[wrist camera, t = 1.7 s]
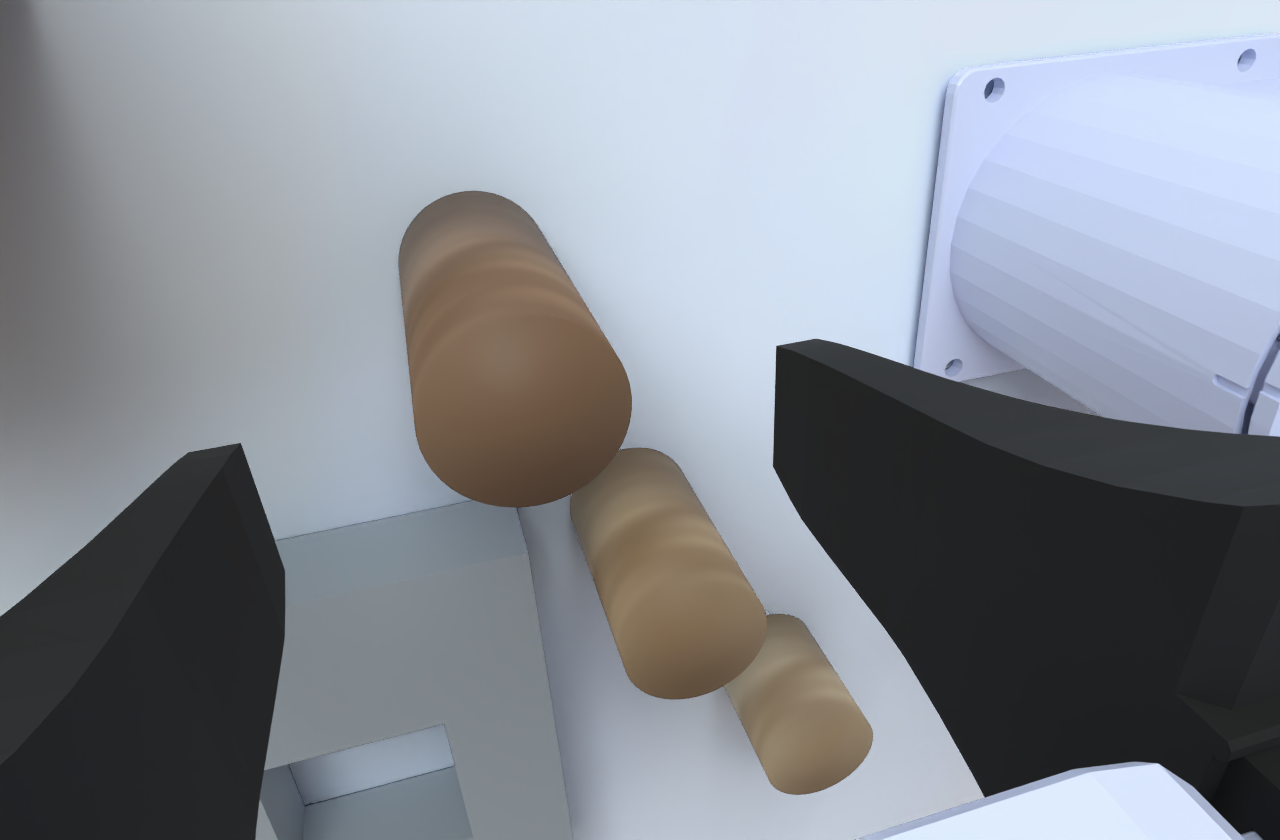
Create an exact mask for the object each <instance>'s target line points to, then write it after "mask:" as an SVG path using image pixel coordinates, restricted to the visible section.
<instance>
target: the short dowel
mask: <svg viewBox="0 0 1280 840" xmlns="http://www.w3.org/2000/svg"><path fill="white" fill-rule="evenodd" d="M766 618H767V632H766V636H765V640H764V643H763V645H762V647H761V649H760V651H759V653H758V655H757V656H756V657H755V659H754V660H753V662H752V663H751V664H750V665H749V666H748V667H747V668H746V669H745V670H744V671H743V672H742V673H741V674H740V675H739V676H737V677H736V678H735V679H733V680H732V681H731V682H729V683H727V684H726V685H724V688H725V690H726V692H727V694H728V696H729V698H730V700H731V702H732V704H733V706H734V708H735V710H736V712H737V715H738V717H739V719H740V721H741V723H742V725H743V727H744V729H745V731H746V733H747V735H748V737H749V739H750V742H751V744H752V746H753V748H754V750H755V752H756V754H757V756H758V758H759V760H760V762H761V764H762V767H763V769H764V771H765V773H766V775H767V777H768V779H769V781H770V783H771V784H772V785H773V787H775V788H776V789H777V790H779V791H781V792H784V793H787V794H794V795H802V794H810V793H814V792H818V791H821V790H824V789H826V788H828V787H831V786H833V785H835V784H837V783H838V782H840V781H841V780H843V779H845V778H846V777H847V776H849V775H850V774H851V773H852V772H853V771H854V770H855V769H856V768H857V767H858V766H859V765H860V764H861V763H862V762H863V760H864V759H865V757H866V756H867V754H868V752H869V750H870V748H871V745H872V741H873V732H872V728H871V726H870V724H869V723H868V721H867V720H866V718H865V717H864V715H863V713H862V712H861V710H860V709H859V707H858V706H857V704H856V703H855V701H854V700H853V698H852V696H851V695H850V693H849V692H848V690H847V689H846V687H845V686H844V684H843V682H842V681H841V679H840V678H839V676H838V675H837V673H836V672H835V670H834V668H833V667H832V665H831V664H830V662H829V661H828V659H827V658H826V656H825V654H824V653H823V651H822V650H821V648H820V647H819V645H818V644H817V642H816V641H815V639H814V637H813V636H812V634H811V633H810V631H809V630H808V628H807V627H806V625H805V624H804V623H803V622H802V621H801V620H799V619H798V618H796V617H794V616H790V615H785V614H772V615H767V616H766Z"/></svg>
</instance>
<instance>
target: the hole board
mask: <svg viewBox="0 0 1280 840" xmlns="http://www.w3.org/2000/svg"><path fill="white" fill-rule="evenodd" d="M275 543H276V546H277V549H278V552H279V555H280V557H281V560H282V563H283V566H284V569H285V640H284V647H283V654H282V661H281V667H280V674H279V680H278V687H277V693H276V700H275V706H274V712H273V718H272V724H271V731H270V737H269V743H268V749H267V755H266V762H265V768H264V774H263V780H262V786H261V793H260V800H259V809H258V818H257V827H256V840H573V834H572V828H571V821H570V815H569V809H568V802H567V796H566V790H565V783H564V777H563V771H562V764H561V758H560V751H559V745H558V739H557V732H556V726H555V720H554V713H553V707H552V701H551V694H550V688H549V682H548V675H547V669H546V663H545V656H544V650H543V644H542V637H541V631H540V624H539V618H538V612H537V605H536V599H535V593H534V586H533V580H532V574H531V567H530V561H529V555H528V550H527V546H526V542H525V539H524V535H523V531H522V527H521V524H520V520H519V516H518V512H517V509H516V507H515V508H511V507H498V506H493V505H487V504H484V503H481V502H477V501H469V502H464V503H459V504H454V505H449V506H444V507H439V508H434V509H430V510H425V511H420V512H415V513H410V514H405V515H400V516H395V517H390V518H385V519H381V520H376V521H371V522H366V523H361V524H356V525H351V526H346V527H341V528H336V529H332V530H327V531H322V532H317V533H312V534H307V535H302V536H297V537H292V538H287V539H283V540H278V541H275ZM442 724H444V725H445V729H446V733H447V737H448V741H449V745H450V749H451V753H452V756H453V760H454V764H455V766H454V767H450V768H446V769H443V770H439V771H435V772H431V773H428V774H424V775H420V776H417V777H413V778H409V779H405V780H402V781H398V782H394V783H390V784H387V785H383V786H379V787H376V788H372V789H368V790H364V791H361V792H357V793H353V794H349V795H346V796H342V797H338V798H335V799H331V800H327V801H323V802H320V803H316V804H312V805H308V806H305V805H304V803H303V800H302V798H301V796H300V793H299V791H298V788H297V786H296V783H295V781H294V778H293V776H292V773H291V771H290V768H289V766H288V764H290V763H294V762H298V761H302V760H306V759H310V758H314V757H318V756H322V755H325V754H329V753H333V752H337V751H341V750H345V749H349V748H353V747H357V746H360V745H364V744H368V743H372V742H376V741H380V740H384V739H388V738H392V737H395V736H399V735H403V734H407V733H411V732H415V731H419V730H423V729H427V728H430V727H434V726H438V725H442Z"/></svg>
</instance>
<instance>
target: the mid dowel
mask: <svg viewBox="0 0 1280 840" xmlns="http://www.w3.org/2000/svg"><path fill="white" fill-rule="evenodd" d="M570 514H571V519H572V522H573V525H574V527H575V530H576V533H577V536H578V539H579V541H580V544H581V547H582V550H583V553H584V555H585V558H586V561H587V564H588V567H589V569H590V572H591V575H592V578H593V581H594V583H595V586H596V589H597V592H598V595H599V597H600V600H601V603H602V606H603V609H604V611H605V614H606V617H607V620H608V623H609V626H610V628H611V631H612V634H613V637H614V640H615V642H616V645H617V648H618V651H619V654H620V656H621V659H622V662H623V665H624V668H625V670H626V673H627V675H628V677H629V679H630V680H631V682H632V683H633V684H634V685H635V686H636V687H637V688H639V689H640V690H641V691H643V692H645V693H647V694H649V695H652V696H654V697H658V698H663V699H687V698H692V697H697V696H701V695H704V694H707V693H709V692H712V691H714V690H717V689H718V688H720V687H722V686H724V685H726V684H727V683H729V682H731V681H732V680H733V679H735V678H736V677H737V676H739V675H740V674H741V673H742V672H743V671H744V670H745V669H746V668H747V667H748V666H749V665H750V664H751V663H752V662H753V660H754V659H755V657H756V656H757V655H758V653H759V651H760V649H761V647H762V645H763V643H764V640H765V636H766V632H767V618H766V613H765V610H764V608H763V606H762V604H761V602H760V601H759V599H758V597H757V596H756V594H755V592H754V591H753V589H752V587H751V586H750V584H749V582H748V581H747V579H746V577H745V576H744V574H743V572H742V571H741V569H740V567H739V566H738V564H737V562H736V561H735V559H734V557H733V556H732V554H731V552H730V551H729V549H728V547H727V546H726V544H725V542H724V541H723V539H722V537H721V536H720V534H719V532H718V531H717V529H716V527H715V526H714V524H713V522H712V521H711V519H710V517H709V516H708V514H707V512H706V511H705V509H704V507H703V506H702V504H701V502H700V501H699V499H698V497H697V496H696V494H695V492H694V491H693V489H692V487H691V486H690V484H689V482H688V481H687V479H686V477H685V476H684V474H683V472H682V471H681V469H680V468H679V466H678V465H677V464H676V463H675V462H674V460H672V459H671V458H670V457H669V456H667V455H665V454H663V453H661V452H659V451H656V450H652V449H648V448H629V449H623V450H619V451H618V452H617V453H616V455H615V456H614V458H613V459H612V460H611V462H610V463H609V464H608V466H607V467H606V468H605V469H604V470H603V471H602V472H601V473H600V474H599V475H598V476H597V477H595V478H594V479H593V480H592V481H591V482H589V483H588V484H587V485H585V486H583V487H582V488H580V489H579V490H577V491H575V492H573V493H572V496H571V500H570Z"/></svg>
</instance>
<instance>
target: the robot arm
mask: <svg viewBox="0 0 1280 840" xmlns="http://www.w3.org/2000/svg"><path fill="white" fill-rule="evenodd" d="M1241 54H1242V56H1241V59H1240V61H1239V64H1238V65H1237V63H1238V60H1239V57H1240V55H1241ZM991 79H993V80H994V88H993V91H992V93H991V94H990V95H989V96H988V98H986V99H985V96H984V90H985V87H986V85H987V84H988V83H989V81H990V80H991ZM951 360H954V362H953V364H952V366H951V367H950V368H949V369H946V370H945V368H946V366H947V364H948V363H949V362H950V361H951ZM1022 369H1029V370H1030V371H1032V372H1033V373H1035V374H1036V375H1038V376H1040V377H1041V378H1043V379H1044V380H1046V381H1047V382H1049V383H1051V384H1052V385H1054V386H1055V387H1057V388H1058V389H1060V390H1061V391H1063V392H1065V393H1066V394H1068V395H1069V396H1071V397H1072V398H1074V399H1076V400H1077V401H1079V402H1080V403H1082V404H1083V405H1085V406H1086V407H1088V408H1090V409H1091V410H1093V411H1094V412H1096V413H1097V414H1099V415H1101V416H1102V417H1099V416H1094V415H1089V414H1084V413H1079V412H1074V411H1069V410H1064V409H1060V408H1055V407H1050V406H1045V405H1041V404H1036V403H1032V402H1028V401H1024V400H1020V399H1016V398H1012V397H1009V396H1005V395H1001V394H998V393H994V392H991V391H987V390H984V389H980V388H976V387H973V386H969V385H966V384H963V383H960V382H961V381H966V380H971V379H976V378H981V377H986V376H991V375H996V374H1001V373H1006V372H1012V371H1017V370H1022ZM773 467H774V469H775V471H776V473H777V475H778V477H779V479H780V481H781V483H782V485H783V487H784V488H785V490H786V492H787V494H788V496H789V498H790V500H791V501H792V503H793V505H794V507H795V508H796V510H797V512H798V514H799V515H800V517H801V519H802V520H803V522H804V523H805V524H806V526H807V527H808V529H809V530H810V531H811V533H812V534H813V535H814V537H815V538H816V539H817V541H818V542H819V543H820V545H821V546H822V547H823V549H824V550H825V551H826V553H827V554H828V555H829V557H830V558H831V559H832V561H833V562H834V563H835V564H836V566H837V567H838V568H839V570H840V571H841V572H842V574H843V575H844V576H845V577H846V579H847V580H848V581H849V583H850V584H851V585H852V587H853V588H854V589H855V590H856V592H857V593H858V594H859V596H860V597H861V598H862V600H863V601H864V602H865V603H866V605H867V606H868V607H869V609H870V610H871V611H872V613H873V614H874V615H875V617H876V618H877V619H878V620H879V622H880V623H881V624H882V626H883V627H884V628H885V630H886V631H887V632H888V634H889V635H890V637H891V638H892V640H893V641H894V642H895V644H896V645H897V647H898V648H899V650H900V651H901V653H902V654H903V655H904V657H905V659H906V660H907V662H908V664H909V665H910V667H911V669H912V670H913V672H914V674H915V675H916V677H917V679H918V680H919V682H920V684H921V685H922V687H923V689H924V690H925V692H926V694H927V695H928V697H929V699H930V700H931V702H932V704H933V705H934V707H935V709H936V710H937V712H938V714H939V715H940V717H941V719H942V721H943V722H944V724H945V726H946V728H947V730H948V731H949V733H950V735H951V737H952V738H953V740H954V742H955V744H956V746H957V747H958V749H959V751H960V753H961V754H962V756H963V758H964V760H965V762H966V763H967V765H968V767H969V769H970V770H971V772H972V774H973V776H974V778H975V780H976V782H977V783H978V785H979V787H980V789H981V791H982V793H983V795H984V797H985V798H982V799H979V800H976V801H973V802H970V803H967V804H964V805H961V806H958V807H954V808H951V809H948V810H945V811H942V812H939V813H936V814H933V815H930V816H927V817H923V818H920V819H917V820H914V821H911V822H908V823H905V824H902V825H899V826H895V827H892V828H889V829H886V830H883V831H880V832H877V833H874V834H871V835H867V836H864V837H861V838H858V839H855V840H1280V34H1279V33H1269V34H1259V35H1250V36H1241V37H1232V38H1223V39H1214V40H1205V41H1196V42H1187V43H1178V44H1169V45H1160V46H1151V47H1142V48H1133V49H1124V50H1115V51H1106V52H1097V53H1088V54H1079V55H1070V56H1061V57H1051V58H1042V59H1033V60H1024V61H1015V62H1006V63H997V64H988V65H979V66H970V67H966V68H963V69H961V70H960V71H958V72H957V73H956V74H955V75H954V76H953V78H952V79H951V81H950V82H949V85H948V88H947V92H946V100H945V108H944V116H943V125H942V133H941V141H940V150H939V158H938V167H937V175H936V183H935V192H934V200H933V208H932V217H931V225H930V234H929V242H928V250H927V259H926V267H925V275H924V284H923V292H922V301H921V309H920V317H919V326H918V334H917V342H916V351H915V359H914V368H913V367H910V366H907V365H904V364H901V363H898V362H895V361H892V360H889V359H886V358H883V357H880V356H877V355H874V354H871V353H868V352H865V351H862V350H858V349H855V348H852V347H849V346H845V345H842V344H838V343H834V342H830V341H825V340H820V339H812V340H807V341H801V342H796V343H790V344H785V345H779V346H776V380H775V417H774V453H773ZM284 640H285V569H284V566H283V563H282V560H281V557H280V555H279V552H278V549H277V546H276V543H275V540H274V537H273V534H272V532H271V529H270V526H269V523H268V520H267V517H266V514H265V511H264V509H263V506H262V503H261V500H260V497H259V494H258V491H257V488H256V486H255V483H254V480H253V477H252V474H251V471H250V468H249V465H248V463H247V460H246V457H245V454H244V451H243V448H242V445H241V443H239V444H233V445H227V446H222V447H216V448H211V449H205V450H200V451H194V452H189V453H187V454H186V455H185V456H183V457H182V458H181V459H179V460H178V461H177V462H176V463H174V464H173V465H172V466H171V467H170V468H169V469H168V470H167V471H165V472H164V473H163V474H162V475H161V476H160V477H159V478H158V479H157V480H156V481H155V482H154V483H153V484H151V485H150V486H149V487H148V488H147V489H146V490H145V491H144V492H143V493H142V494H141V495H140V496H139V497H138V498H137V499H136V500H135V501H133V502H132V503H131V504H130V505H129V506H128V507H127V508H126V509H125V510H124V511H123V512H122V513H121V514H119V515H118V516H117V517H116V518H115V519H114V520H113V521H112V522H111V523H110V524H109V525H108V526H107V527H105V528H104V529H103V530H102V531H101V532H100V533H99V534H98V535H97V536H96V537H95V538H94V539H93V540H91V541H90V542H89V543H88V544H87V545H86V546H85V547H84V548H82V549H81V550H80V551H79V552H78V553H77V554H75V555H74V556H73V557H72V558H71V559H69V560H68V561H67V562H66V563H65V564H64V565H62V566H61V567H60V568H59V569H58V570H56V571H55V572H54V573H53V574H52V575H51V576H49V577H48V578H47V579H46V580H45V581H44V582H42V583H41V584H40V585H39V586H38V587H36V588H35V589H34V590H33V591H32V592H31V593H29V594H28V595H27V596H26V597H25V598H24V599H22V600H21V601H20V602H19V603H17V604H16V605H15V606H13V607H12V608H11V609H10V610H8V611H7V612H6V613H5V614H3V615H2V616H1V617H0V840H256V827H257V818H258V809H259V800H260V793H261V786H262V780H263V774H264V768H265V762H266V755H267V749H268V743H269V737H270V731H271V724H272V718H273V712H274V706H275V700H276V693H277V687H278V680H279V674H280V667H281V661H282V654H283V647H284Z"/></svg>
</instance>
